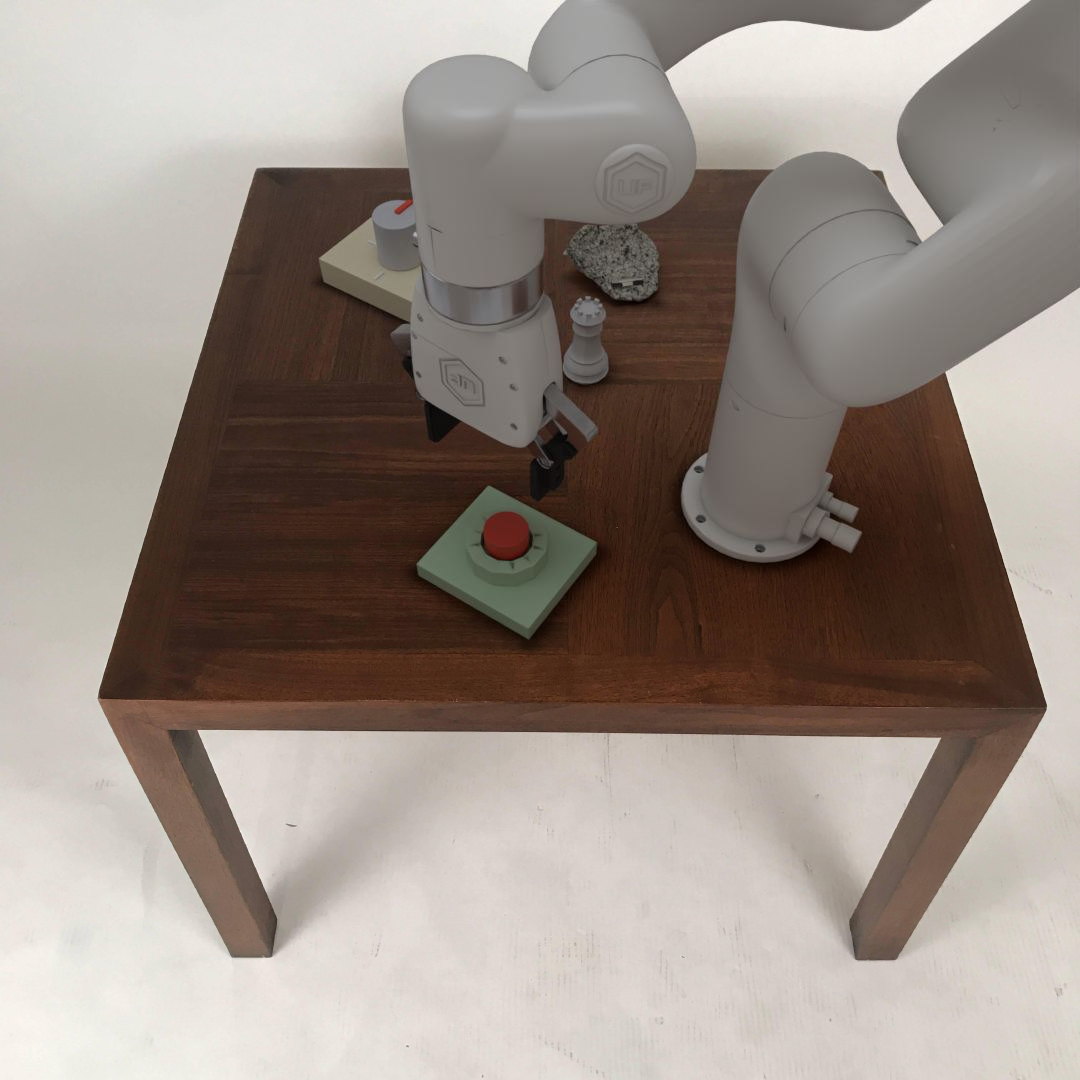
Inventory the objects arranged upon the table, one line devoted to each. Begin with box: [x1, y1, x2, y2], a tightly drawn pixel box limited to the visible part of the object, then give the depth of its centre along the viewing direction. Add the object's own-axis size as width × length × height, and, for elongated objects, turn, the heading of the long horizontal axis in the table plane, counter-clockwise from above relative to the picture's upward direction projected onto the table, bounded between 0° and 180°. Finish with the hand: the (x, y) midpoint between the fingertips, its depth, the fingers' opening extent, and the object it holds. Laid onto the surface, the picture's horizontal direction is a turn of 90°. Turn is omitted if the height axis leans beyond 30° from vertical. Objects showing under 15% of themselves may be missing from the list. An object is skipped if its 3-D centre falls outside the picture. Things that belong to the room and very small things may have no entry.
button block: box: [416, 485, 598, 640], centre depth 80 cm, size 11×10×4 cm
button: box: [483, 511, 529, 560], centre depth 78 cm, size 4×4×2 cm
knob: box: [371, 198, 420, 271], centre depth 99 cm, size 5×5×5 cm
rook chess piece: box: [562, 295, 609, 385], centre depth 92 cm, size 4×4×8 cm
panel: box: [318, 216, 422, 324], centre depth 102 cm, size 14×10×3 cm
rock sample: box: [563, 223, 661, 302], centre depth 101 cm, size 10×8×9 cm
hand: (494, 458), depth 74 cm, fingers open, 9 cm apart
